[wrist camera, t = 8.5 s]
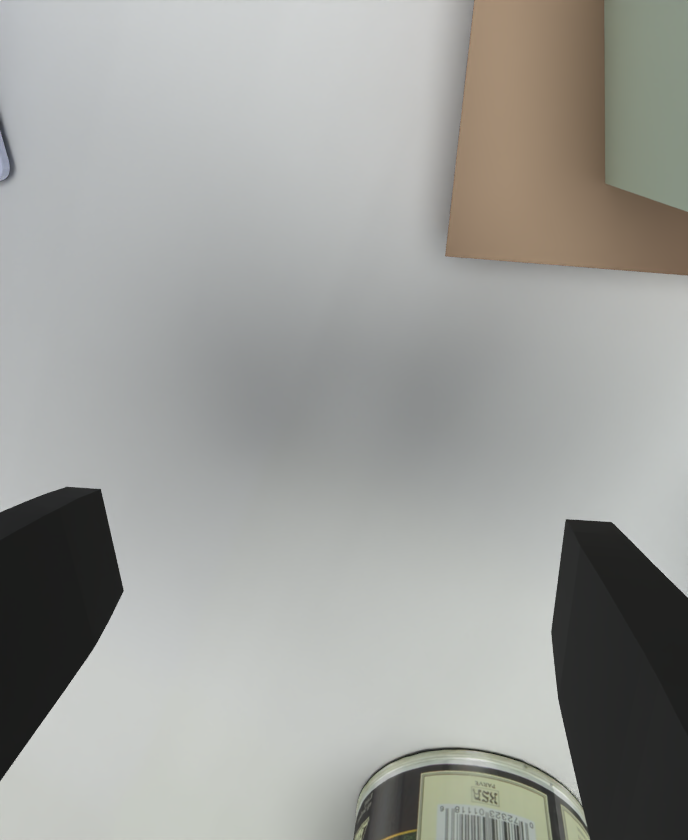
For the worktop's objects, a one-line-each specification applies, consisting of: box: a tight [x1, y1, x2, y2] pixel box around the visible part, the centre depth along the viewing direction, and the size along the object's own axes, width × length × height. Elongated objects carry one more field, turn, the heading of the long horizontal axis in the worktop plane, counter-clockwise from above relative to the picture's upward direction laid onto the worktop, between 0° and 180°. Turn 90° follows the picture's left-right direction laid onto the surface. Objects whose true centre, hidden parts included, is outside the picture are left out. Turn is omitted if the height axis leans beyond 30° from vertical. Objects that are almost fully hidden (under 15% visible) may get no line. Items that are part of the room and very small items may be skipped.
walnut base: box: [445, 0, 688, 275], centre depth 13 cm, size 9×9×4 cm
